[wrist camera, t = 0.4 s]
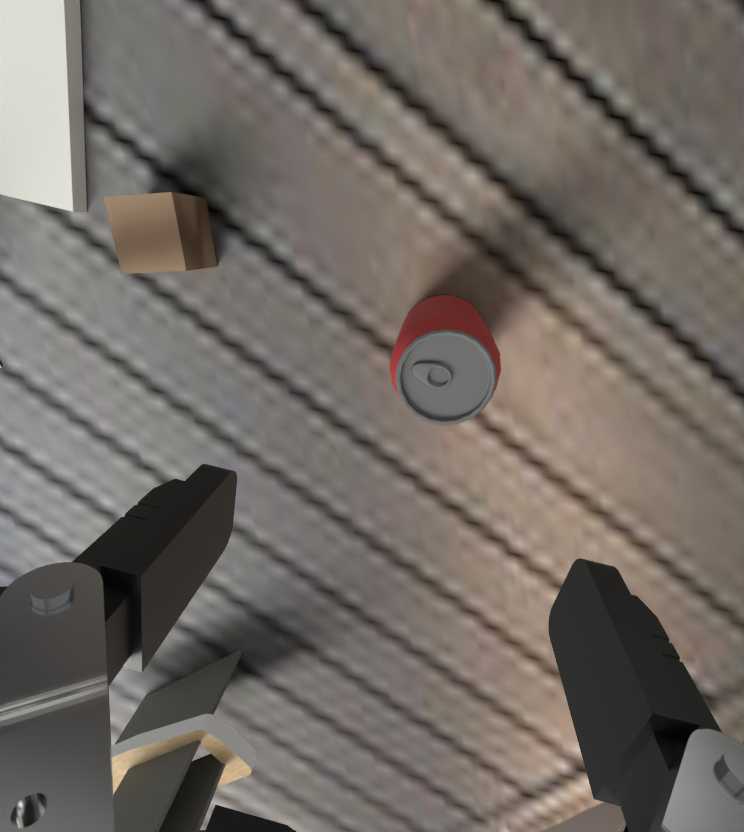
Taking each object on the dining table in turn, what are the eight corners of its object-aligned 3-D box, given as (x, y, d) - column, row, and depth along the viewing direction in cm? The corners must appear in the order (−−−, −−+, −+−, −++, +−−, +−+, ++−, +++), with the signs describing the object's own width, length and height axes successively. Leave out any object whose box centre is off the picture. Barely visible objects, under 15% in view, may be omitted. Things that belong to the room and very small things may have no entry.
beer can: (417, 282, 35) (408, 303, 24) (498, 309, 35) (527, 343, 24) (390, 360, 38) (371, 412, 26) (466, 386, 38) (478, 449, 26)
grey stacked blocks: (170, 782, 65) (66, 996, 46) (37, 666, 59) (-141, 857, 41) (389, 698, 53) (364, 941, 34) (249, 541, 47) (130, 733, 29)
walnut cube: (146, 202, 36) (103, 197, 31) (206, 197, 35) (171, 191, 30) (160, 269, 37) (121, 273, 33) (217, 266, 37) (186, 270, 32)
